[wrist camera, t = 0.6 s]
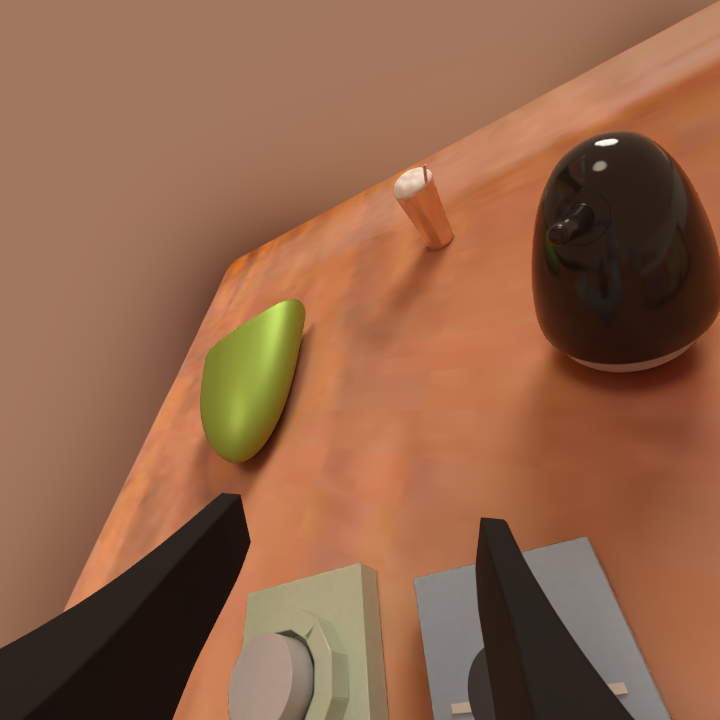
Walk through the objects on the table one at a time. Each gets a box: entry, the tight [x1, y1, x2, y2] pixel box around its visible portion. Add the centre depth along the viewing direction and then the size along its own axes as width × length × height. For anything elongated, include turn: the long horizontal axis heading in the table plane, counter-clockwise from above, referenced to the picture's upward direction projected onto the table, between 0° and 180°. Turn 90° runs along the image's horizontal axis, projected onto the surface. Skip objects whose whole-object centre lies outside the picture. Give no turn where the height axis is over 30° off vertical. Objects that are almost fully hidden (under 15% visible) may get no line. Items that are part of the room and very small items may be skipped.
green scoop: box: [200, 299, 305, 463], centre depth 46 cm, size 8×12×20 cm
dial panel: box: [414, 536, 672, 720], centre depth 19 cm, size 12×10×3 cm
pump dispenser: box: [532, 131, 720, 372], centre depth 24 cm, size 10×10×15 cm
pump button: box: [228, 632, 314, 720], centre depth 23 cm, size 5×5×2 cm
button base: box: [228, 563, 389, 720], centre depth 25 cm, size 12×10×4 cm
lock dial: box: [468, 648, 496, 720], centre depth 17 cm, size 4×4×4 cm
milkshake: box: [393, 165, 453, 250], centre depth 45 cm, size 4×5×10 cm
